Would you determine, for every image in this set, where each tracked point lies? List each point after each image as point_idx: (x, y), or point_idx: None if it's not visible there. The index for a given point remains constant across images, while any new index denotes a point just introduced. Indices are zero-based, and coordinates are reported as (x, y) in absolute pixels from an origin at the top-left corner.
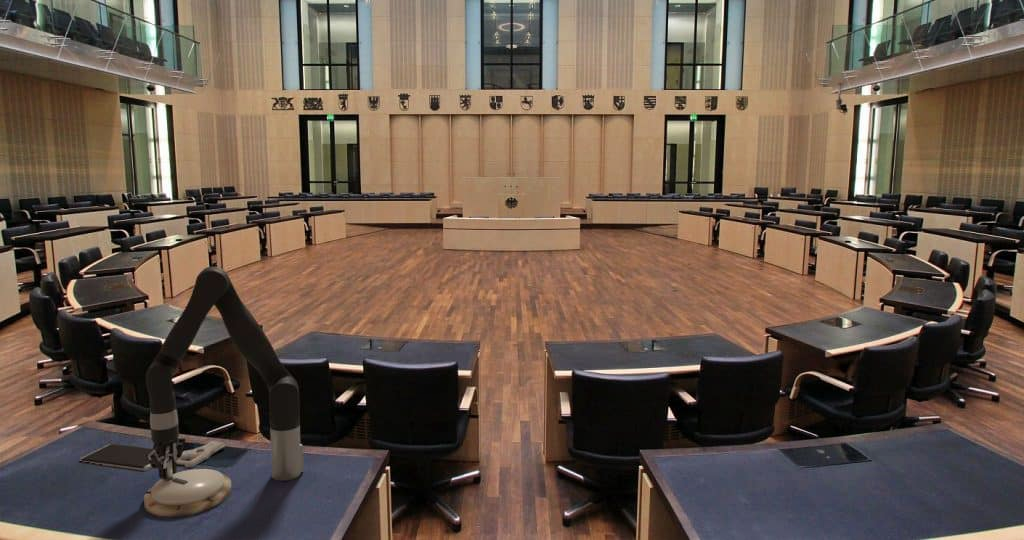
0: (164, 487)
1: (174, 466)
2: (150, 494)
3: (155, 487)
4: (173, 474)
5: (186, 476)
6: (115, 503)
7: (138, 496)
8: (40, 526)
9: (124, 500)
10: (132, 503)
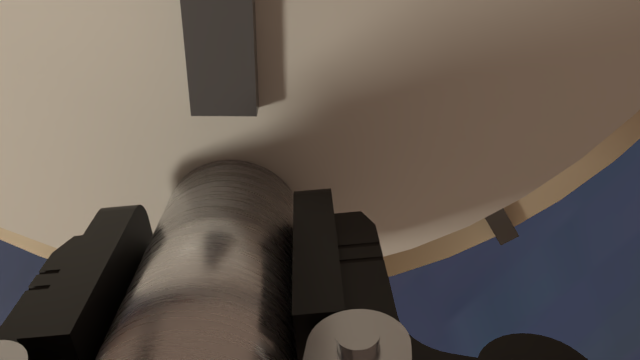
0: (469, 43)
1: (87, 281)
2: None
3: (503, 166)
4: None
5: (35, 23)
6: (609, 353)
7: (456, 295)
8: None
9: (549, 335)
10: (583, 241)
